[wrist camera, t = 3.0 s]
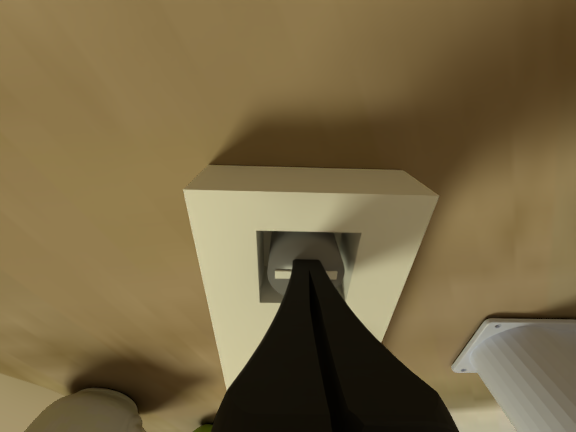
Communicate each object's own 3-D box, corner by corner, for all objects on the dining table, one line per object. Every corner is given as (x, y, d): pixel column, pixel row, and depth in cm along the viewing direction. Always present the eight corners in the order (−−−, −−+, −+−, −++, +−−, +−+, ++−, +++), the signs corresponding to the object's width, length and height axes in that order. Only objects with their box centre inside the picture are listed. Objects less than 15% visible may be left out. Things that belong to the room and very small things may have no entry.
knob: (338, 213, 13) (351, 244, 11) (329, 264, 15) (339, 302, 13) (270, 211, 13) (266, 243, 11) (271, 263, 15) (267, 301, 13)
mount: (403, 169, 13) (439, 195, 10) (337, 395, 26) (344, 436, 23) (208, 164, 13) (183, 189, 10) (242, 394, 26) (236, 435, 23)
